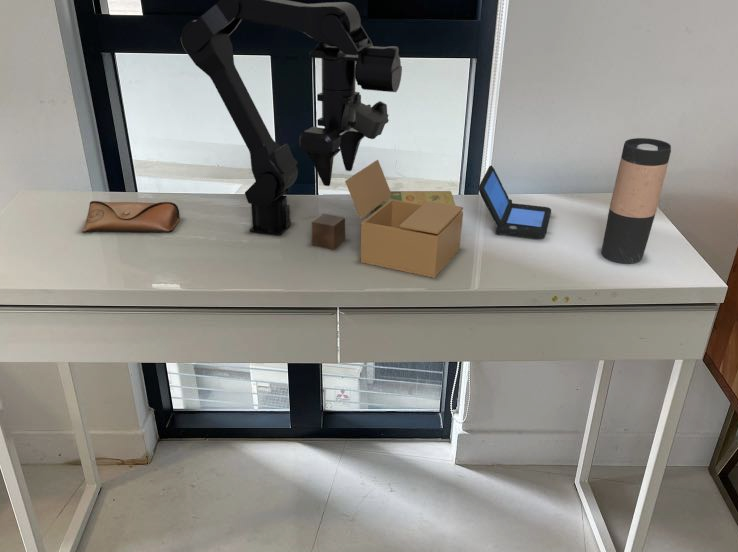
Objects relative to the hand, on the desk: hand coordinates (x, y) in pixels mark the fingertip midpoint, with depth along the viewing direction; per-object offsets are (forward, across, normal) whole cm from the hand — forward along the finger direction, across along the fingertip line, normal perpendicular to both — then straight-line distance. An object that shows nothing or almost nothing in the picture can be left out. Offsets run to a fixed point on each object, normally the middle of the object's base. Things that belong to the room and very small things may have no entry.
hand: (338, 177), depth 131 cm
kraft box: (+12, -2, -16) cm, 20 cm away
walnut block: (+12, -3, 0) cm, 12 cm away
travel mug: (+12, +15, -50) cm, 54 cm away
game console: (+12, +22, -28) cm, 38 cm away
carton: (+12, +16, -9) cm, 22 cm away
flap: (0, -2, -7) cm, 7 cm away
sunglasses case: (+12, -12, +40) cm, 43 cm away
